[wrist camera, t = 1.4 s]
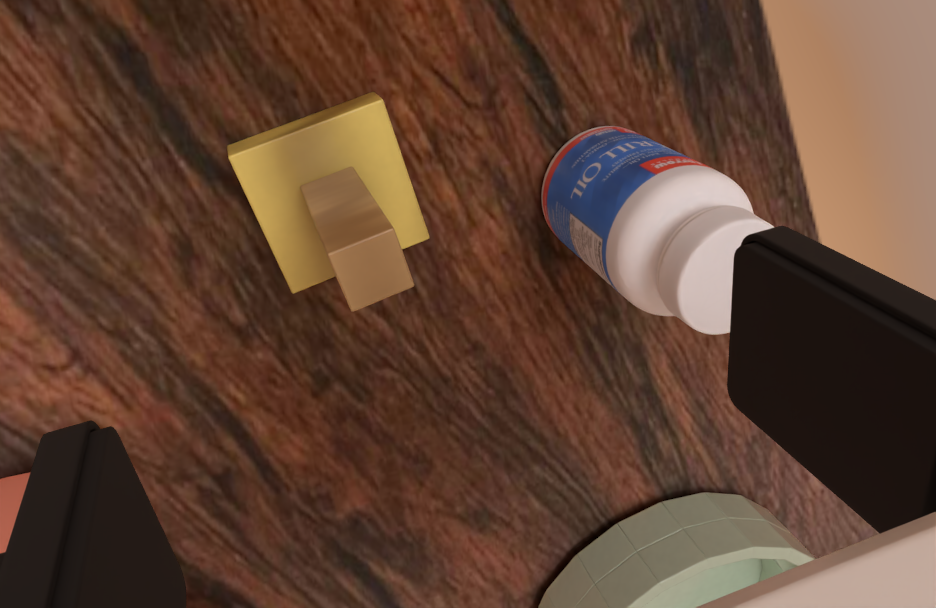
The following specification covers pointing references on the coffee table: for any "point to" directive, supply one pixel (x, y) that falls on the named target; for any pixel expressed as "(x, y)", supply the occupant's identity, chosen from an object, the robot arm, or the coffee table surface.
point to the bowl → (678, 556)
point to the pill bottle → (650, 223)
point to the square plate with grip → (334, 199)
